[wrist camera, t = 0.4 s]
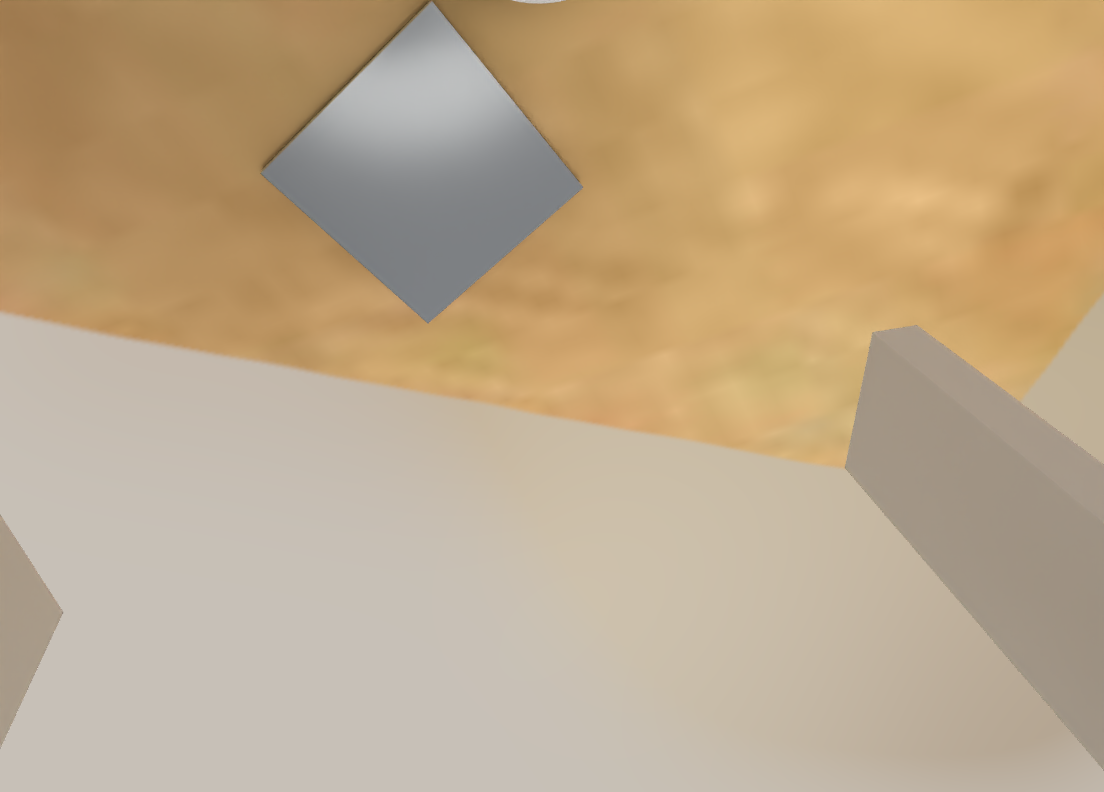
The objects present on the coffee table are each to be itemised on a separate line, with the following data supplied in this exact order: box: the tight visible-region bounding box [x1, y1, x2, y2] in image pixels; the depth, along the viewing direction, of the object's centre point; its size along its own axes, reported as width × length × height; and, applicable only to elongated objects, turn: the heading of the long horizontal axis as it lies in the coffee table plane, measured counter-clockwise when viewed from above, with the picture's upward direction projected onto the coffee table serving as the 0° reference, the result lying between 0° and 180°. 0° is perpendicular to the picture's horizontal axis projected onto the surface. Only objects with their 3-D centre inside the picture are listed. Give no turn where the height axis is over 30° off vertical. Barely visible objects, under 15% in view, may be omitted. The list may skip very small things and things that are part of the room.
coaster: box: [261, 0, 583, 323], centre depth 33 cm, size 10×10×1 cm
